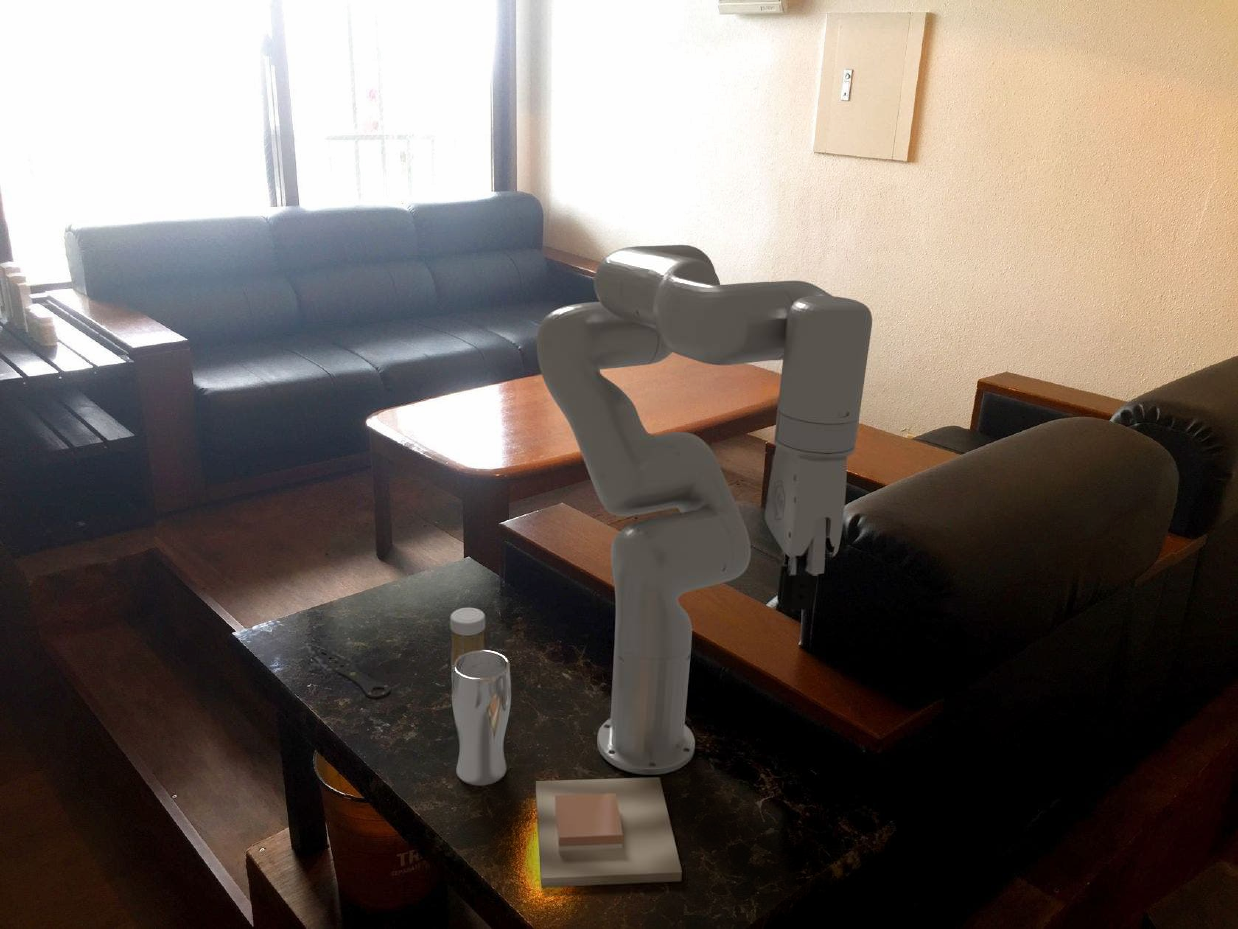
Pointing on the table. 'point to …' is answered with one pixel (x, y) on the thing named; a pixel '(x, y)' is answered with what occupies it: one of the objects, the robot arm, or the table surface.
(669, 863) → the board
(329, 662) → the throwing knife
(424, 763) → the table surface
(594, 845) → the tile
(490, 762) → the beer glass
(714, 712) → the table surface
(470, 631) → the sprinkles bottle
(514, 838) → the table surface
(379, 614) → the table surface
